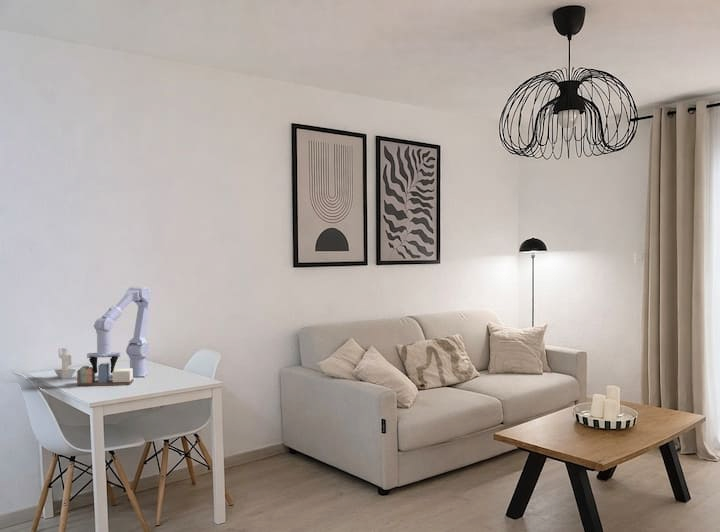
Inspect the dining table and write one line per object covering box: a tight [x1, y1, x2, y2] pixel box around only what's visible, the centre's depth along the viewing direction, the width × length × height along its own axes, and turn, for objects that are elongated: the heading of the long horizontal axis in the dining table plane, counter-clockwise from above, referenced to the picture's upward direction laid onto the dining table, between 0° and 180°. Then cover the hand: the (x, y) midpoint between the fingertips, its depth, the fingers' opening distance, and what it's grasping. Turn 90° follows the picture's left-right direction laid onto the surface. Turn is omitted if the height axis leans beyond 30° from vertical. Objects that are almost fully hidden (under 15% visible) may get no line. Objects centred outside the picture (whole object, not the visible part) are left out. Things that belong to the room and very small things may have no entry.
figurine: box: [54, 346, 77, 379], centre depth 302 cm, size 7×9×15 cm
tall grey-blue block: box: [97, 362, 111, 383], centre depth 289 cm, size 6×4×8 cm, turn 8°
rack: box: [76, 365, 134, 387], centre depth 289 cm, size 8×23×8 cm, turn 99°
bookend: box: [112, 367, 134, 382], centre depth 290 cm, size 7×8×5 cm
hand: (103, 372), depth 289 cm, fingers open, 7 cm apart
